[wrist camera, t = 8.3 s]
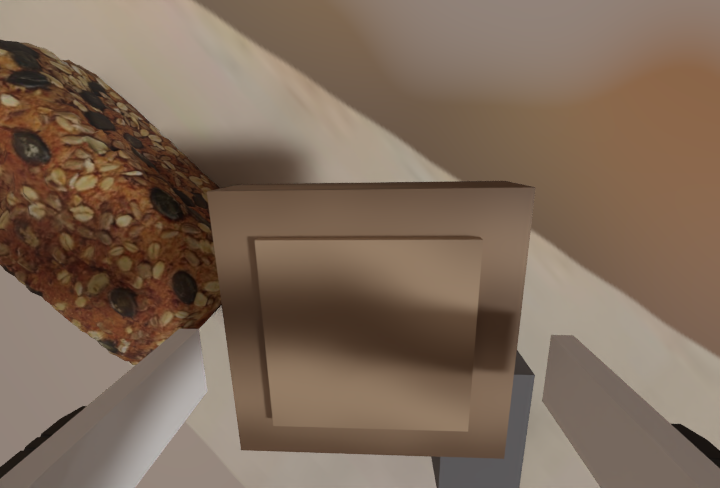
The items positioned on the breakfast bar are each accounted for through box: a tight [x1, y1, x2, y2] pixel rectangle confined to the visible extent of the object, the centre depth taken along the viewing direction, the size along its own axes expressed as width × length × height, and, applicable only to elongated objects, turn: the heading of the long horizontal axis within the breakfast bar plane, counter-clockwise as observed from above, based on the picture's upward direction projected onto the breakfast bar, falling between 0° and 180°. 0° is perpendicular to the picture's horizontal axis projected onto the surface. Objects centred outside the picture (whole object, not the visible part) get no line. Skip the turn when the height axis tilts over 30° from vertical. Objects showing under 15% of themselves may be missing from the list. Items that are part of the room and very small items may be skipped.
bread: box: [0, 40, 222, 365], centre depth 22 cm, size 19×11×10 cm, turn 43°
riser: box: [431, 351, 535, 488], centre depth 27 cm, size 11×6×5 cm, turn 1°
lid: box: [207, 181, 535, 459], centre depth 15 cm, size 12×12×3 cm
